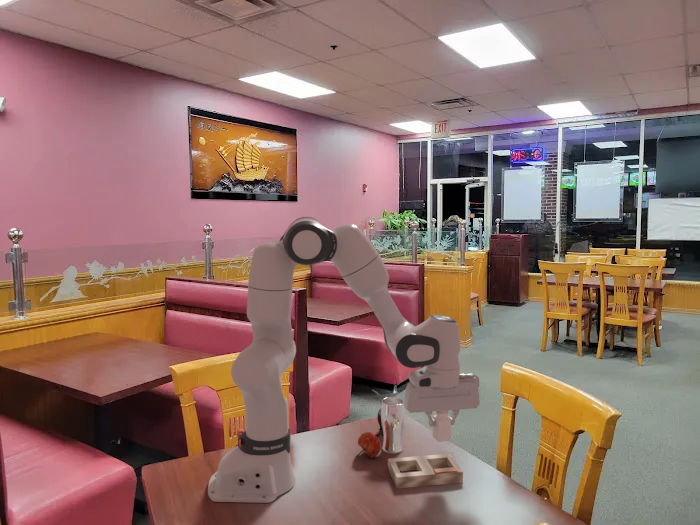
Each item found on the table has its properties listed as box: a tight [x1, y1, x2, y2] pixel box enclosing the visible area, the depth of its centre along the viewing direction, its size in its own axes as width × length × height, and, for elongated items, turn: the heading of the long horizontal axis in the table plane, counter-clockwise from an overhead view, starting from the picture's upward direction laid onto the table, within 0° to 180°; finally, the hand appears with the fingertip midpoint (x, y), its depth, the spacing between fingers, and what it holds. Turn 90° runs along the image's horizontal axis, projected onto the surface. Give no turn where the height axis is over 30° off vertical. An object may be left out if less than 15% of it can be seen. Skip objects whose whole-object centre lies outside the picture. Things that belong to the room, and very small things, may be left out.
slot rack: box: [387, 453, 464, 489], centre depth 140 cm, size 18×10×3 cm, turn 99°
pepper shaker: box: [432, 410, 452, 443], centre depth 139 cm, size 4×4×10 cm
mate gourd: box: [371, 389, 384, 437], centre depth 165 cm, size 8×8×15 cm
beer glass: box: [380, 396, 405, 455], centre depth 154 cm, size 7×7×15 cm
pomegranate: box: [355, 431, 382, 459], centre depth 151 cm, size 7×7×10 cm
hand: (441, 424), depth 139 cm, fingers closed on pepper shaker, 4 cm apart
